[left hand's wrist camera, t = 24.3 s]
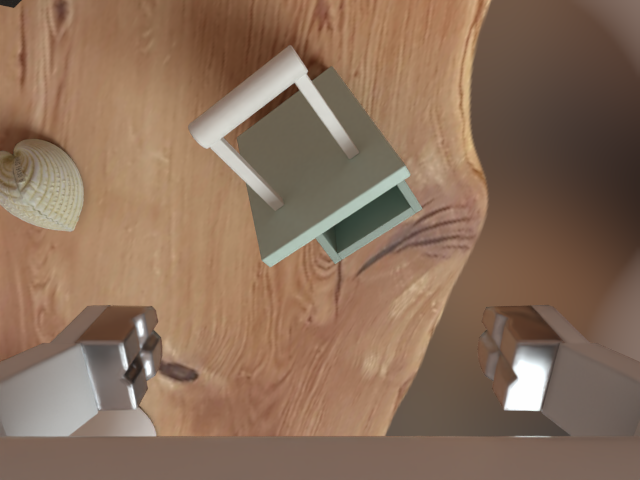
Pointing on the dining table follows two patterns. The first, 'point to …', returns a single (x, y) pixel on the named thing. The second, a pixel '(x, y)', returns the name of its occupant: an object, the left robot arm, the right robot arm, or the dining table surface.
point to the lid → (300, 153)
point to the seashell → (41, 185)
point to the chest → (369, 222)
